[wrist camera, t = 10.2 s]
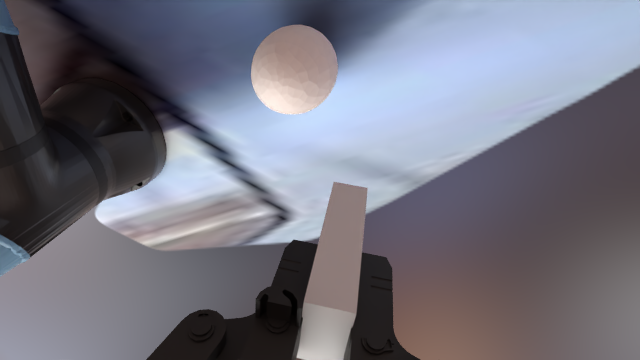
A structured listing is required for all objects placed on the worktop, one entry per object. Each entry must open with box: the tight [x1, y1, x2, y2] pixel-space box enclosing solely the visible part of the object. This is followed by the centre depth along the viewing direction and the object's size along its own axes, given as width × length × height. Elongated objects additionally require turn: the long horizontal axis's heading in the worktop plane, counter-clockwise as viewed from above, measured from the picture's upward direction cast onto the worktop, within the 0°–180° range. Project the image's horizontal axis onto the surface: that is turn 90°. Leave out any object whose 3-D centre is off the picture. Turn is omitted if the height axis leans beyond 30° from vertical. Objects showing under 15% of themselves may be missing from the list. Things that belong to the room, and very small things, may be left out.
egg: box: [251, 25, 338, 114], centre depth 31 cm, size 7×7×12 cm
